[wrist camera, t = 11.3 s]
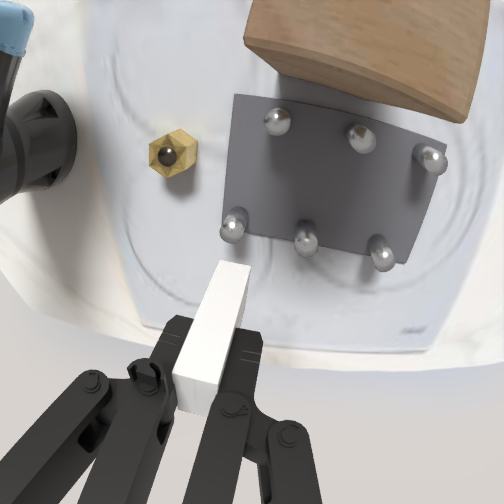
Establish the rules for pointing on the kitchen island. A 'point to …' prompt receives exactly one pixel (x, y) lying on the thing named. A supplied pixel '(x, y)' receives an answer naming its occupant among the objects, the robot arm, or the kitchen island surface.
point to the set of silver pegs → (306, 228)
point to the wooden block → (378, 48)
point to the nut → (172, 153)
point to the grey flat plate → (326, 177)
